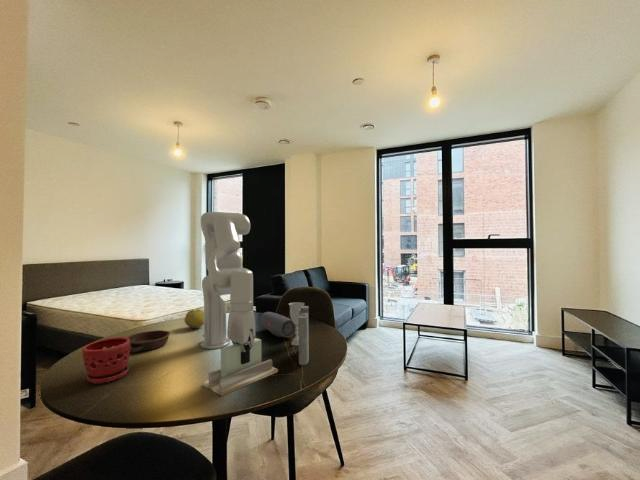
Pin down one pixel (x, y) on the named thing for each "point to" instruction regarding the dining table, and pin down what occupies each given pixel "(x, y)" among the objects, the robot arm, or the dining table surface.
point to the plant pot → (106, 359)
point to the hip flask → (303, 335)
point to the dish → (148, 340)
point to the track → (238, 378)
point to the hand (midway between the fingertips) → (242, 361)
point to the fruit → (195, 318)
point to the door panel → (238, 358)
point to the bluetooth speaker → (278, 324)
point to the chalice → (295, 318)
